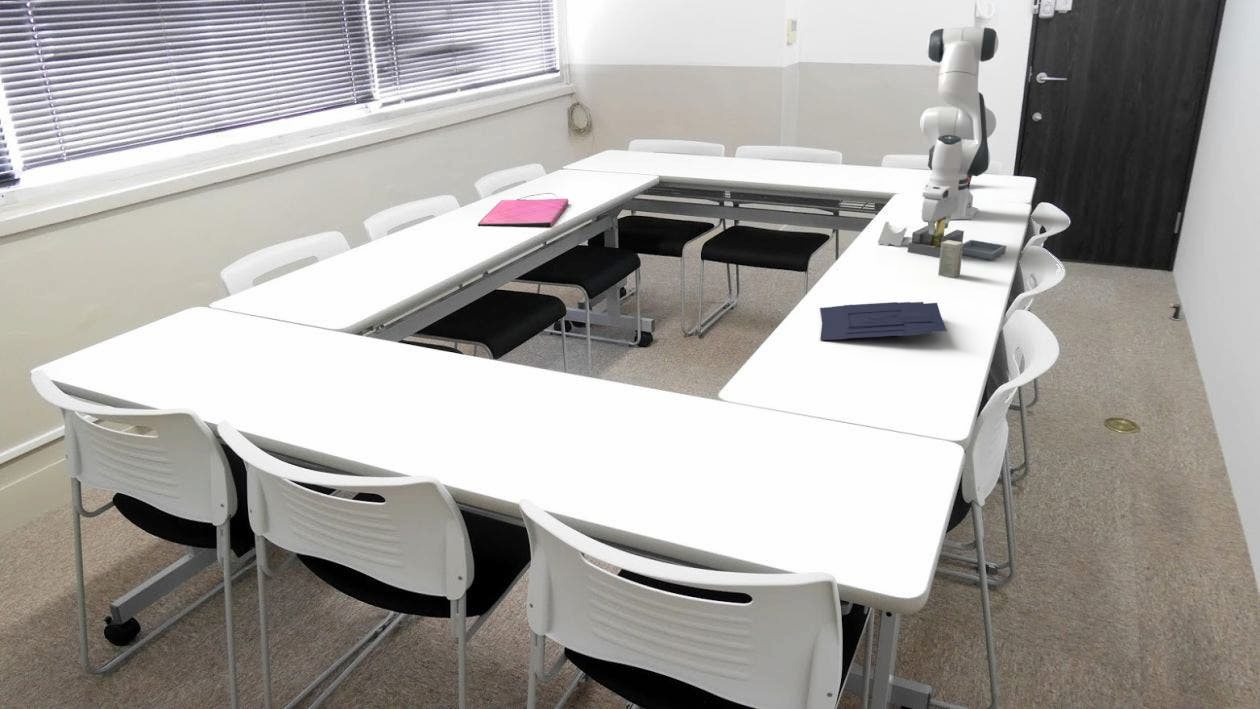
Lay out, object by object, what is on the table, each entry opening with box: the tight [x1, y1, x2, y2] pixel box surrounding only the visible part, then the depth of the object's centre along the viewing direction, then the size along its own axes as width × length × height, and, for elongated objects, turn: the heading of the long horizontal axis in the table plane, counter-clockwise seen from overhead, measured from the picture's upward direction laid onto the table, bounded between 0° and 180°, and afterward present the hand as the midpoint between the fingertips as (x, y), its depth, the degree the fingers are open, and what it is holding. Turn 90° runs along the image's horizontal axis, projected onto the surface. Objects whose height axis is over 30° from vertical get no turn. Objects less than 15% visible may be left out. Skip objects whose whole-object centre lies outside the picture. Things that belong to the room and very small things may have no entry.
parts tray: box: [962, 239, 1007, 262], centre depth 293 cm, size 12×12×2 cm
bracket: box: [877, 219, 908, 248], centre depth 307 cm, size 13×7×8 cm, turn 159°
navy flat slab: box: [819, 301, 948, 341], centre depth 234 cm, size 24×30×4 cm
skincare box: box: [937, 240, 964, 278], centre depth 272 cm, size 5×4×10 cm
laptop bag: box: [477, 192, 569, 228], centre depth 349 cm, size 40×4×27 cm
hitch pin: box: [931, 216, 946, 247], centre depth 296 cm, size 4×4×12 cm
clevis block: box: [907, 225, 965, 259], centre depth 296 cm, size 14×12×6 cm
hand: (938, 231), depth 296 cm, fingers open, 8 cm apart
